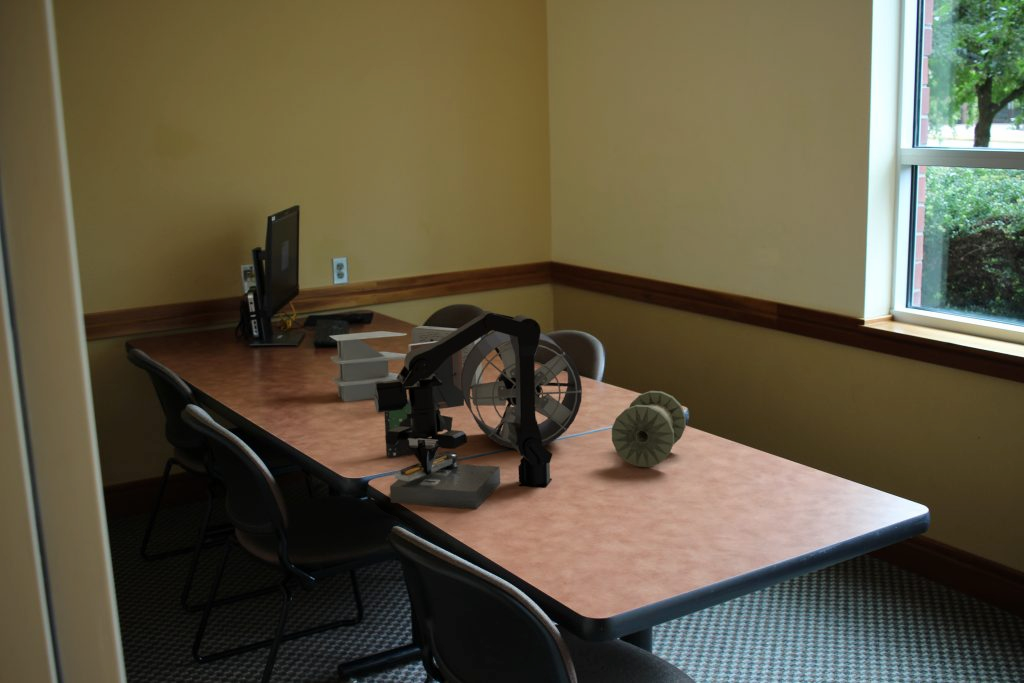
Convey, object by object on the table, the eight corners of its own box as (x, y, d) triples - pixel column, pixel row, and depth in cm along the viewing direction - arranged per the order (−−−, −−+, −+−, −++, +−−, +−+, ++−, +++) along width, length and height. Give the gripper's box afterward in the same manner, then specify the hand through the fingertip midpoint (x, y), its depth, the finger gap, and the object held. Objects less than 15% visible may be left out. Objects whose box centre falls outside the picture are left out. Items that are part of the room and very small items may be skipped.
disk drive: (422, 451, 259) (420, 396, 257) (427, 454, 257) (424, 398, 254) (385, 458, 254) (382, 402, 252) (389, 461, 252) (386, 404, 249)
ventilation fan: (470, 456, 254) (466, 340, 249) (462, 436, 272) (458, 329, 267) (585, 447, 259) (583, 334, 253) (570, 429, 277) (567, 322, 271)
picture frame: (460, 407, 305) (458, 338, 301) (464, 408, 303) (461, 339, 299) (411, 415, 297) (407, 344, 294) (414, 417, 295) (411, 345, 291)
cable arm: (461, 464, 233) (461, 452, 233) (409, 485, 219) (408, 473, 218) (447, 461, 236) (446, 449, 235) (394, 482, 222) (393, 469, 221)
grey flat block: (500, 483, 232) (499, 465, 232) (476, 509, 215) (475, 490, 215) (420, 478, 238) (419, 460, 237) (390, 503, 221) (389, 484, 220)
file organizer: (308, 401, 320) (303, 334, 316) (411, 388, 334) (408, 324, 330) (328, 419, 297) (323, 347, 293) (438, 404, 311) (435, 335, 307)
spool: (672, 469, 239) (672, 408, 236) (612, 464, 244) (611, 404, 242) (685, 449, 254) (685, 392, 252) (628, 445, 259) (627, 389, 257)
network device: (486, 388, 329) (484, 329, 325) (471, 394, 321) (469, 333, 318) (425, 381, 342) (422, 324, 339) (409, 387, 335) (406, 328, 331)
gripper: (477, 400, 223) (482, 467, 226) (409, 397, 233) (415, 461, 235) (449, 412, 214) (455, 482, 216) (380, 407, 223) (387, 475, 225)
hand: (428, 474), depth 223 cm, fingers closed
